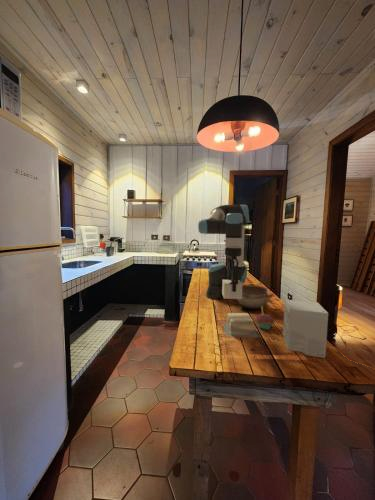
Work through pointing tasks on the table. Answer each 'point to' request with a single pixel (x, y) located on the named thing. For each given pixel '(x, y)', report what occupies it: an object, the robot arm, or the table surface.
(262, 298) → the cooking pot
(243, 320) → the maple base block
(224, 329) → the slate board
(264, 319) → the cupcake
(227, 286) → the cream block
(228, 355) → the table surface
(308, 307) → the supplement box
